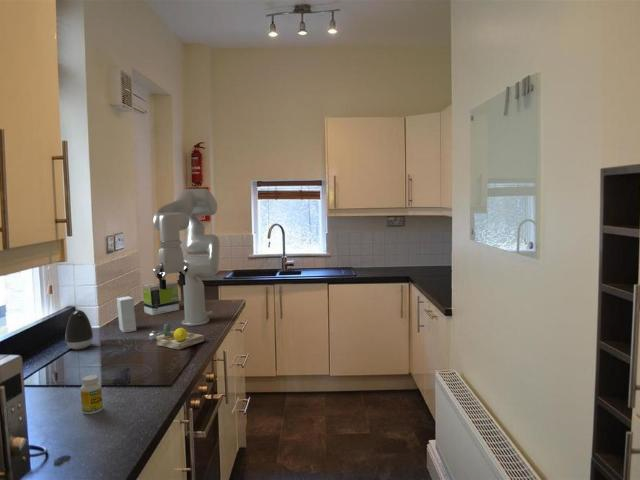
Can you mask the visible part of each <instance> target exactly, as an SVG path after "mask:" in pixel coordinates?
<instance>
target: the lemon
mask: <svg viewBox="0 0 640 480" xmlns="http://www.w3.org/2000/svg"><path fill="white" fill-rule="evenodd" d="M174 331H175V332H174V338H175V339H176V340H177V341H183V340H185V339H186V337H187V333H188V331H187V329H185V328H183V327H179V328H177V329H175V330H174Z"/></svg>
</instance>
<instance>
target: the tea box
mask: <svg viewBox="0 0 640 480" xmlns="http://www.w3.org/2000/svg"><path fill="white" fill-rule="evenodd" d="M142 294H143V295H142V296H143V297H142V298H143V310H144V313H145V314H147V315H151V316H156V315H161V314H165V313H169V312H170V313H171V312H176V311H179V310H180V303H179V290H178V283H177V282H173V281H168V280H167V281H166V289H165V290H164V289H160V285H159V282H155V283H149V284H144V285H142Z"/></svg>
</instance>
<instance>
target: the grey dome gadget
mask: <svg viewBox="0 0 640 480" xmlns="http://www.w3.org/2000/svg"><path fill="white" fill-rule="evenodd" d="M64 337H65V338H64V339H65V342H66V344H67V345H68V347H69V348H70V349H72V350H83V349H86V348H88V347H89V346H90V345H91V344H92V342H93V340H94V331H93V327H92V325H91V322H90V319H89V317H88V315H87V314H86V313H85V312H84V311H83V310H81V309H79V310H77V309H76V310H74V311H72V312H71V314H70V315H69V317H68V320H67V324H66V329H65V335H64Z"/></svg>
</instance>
